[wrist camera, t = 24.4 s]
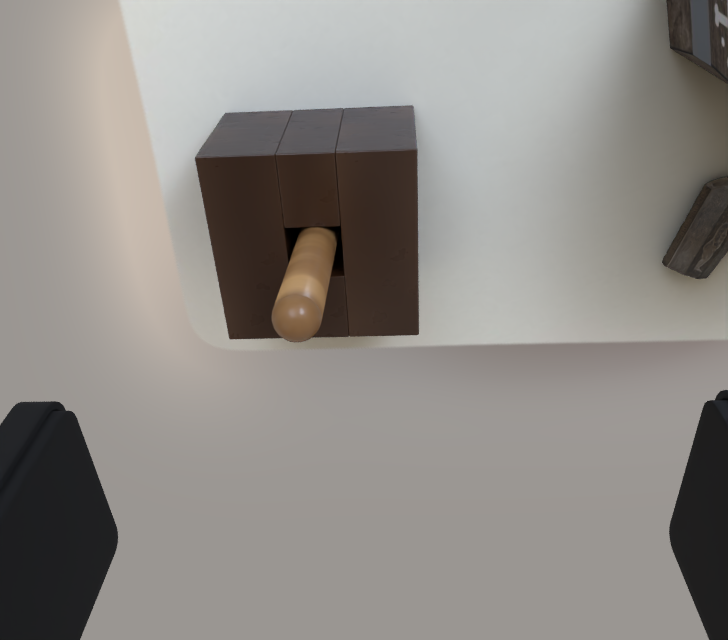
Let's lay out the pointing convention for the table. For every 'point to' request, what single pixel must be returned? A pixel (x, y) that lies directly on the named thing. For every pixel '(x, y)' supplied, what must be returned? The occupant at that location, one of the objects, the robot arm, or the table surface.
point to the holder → (315, 214)
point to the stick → (305, 284)
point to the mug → (701, 33)
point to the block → (702, 233)
